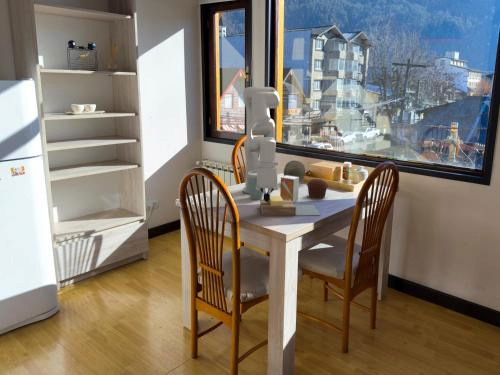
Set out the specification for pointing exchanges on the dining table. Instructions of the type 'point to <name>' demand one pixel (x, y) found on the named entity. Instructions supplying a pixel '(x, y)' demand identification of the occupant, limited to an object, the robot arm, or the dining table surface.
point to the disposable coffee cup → (253, 185)
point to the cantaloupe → (295, 169)
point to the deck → (278, 208)
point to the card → (276, 201)
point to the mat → (306, 210)
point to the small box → (289, 188)
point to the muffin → (317, 188)
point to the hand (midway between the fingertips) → (266, 201)
